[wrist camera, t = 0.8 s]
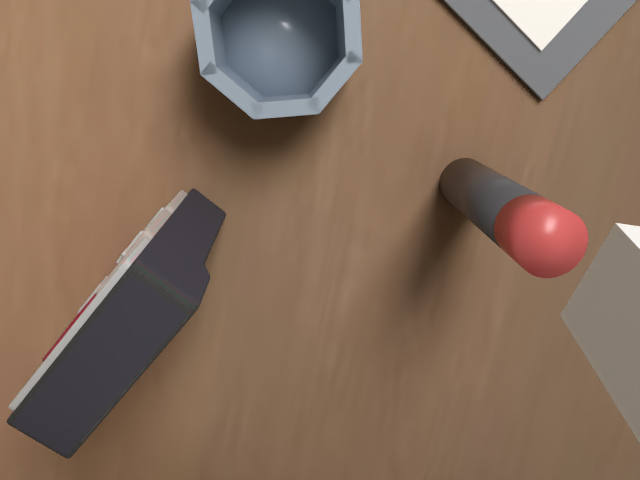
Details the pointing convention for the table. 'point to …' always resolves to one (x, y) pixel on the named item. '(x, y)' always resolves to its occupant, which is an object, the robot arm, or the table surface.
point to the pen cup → (278, 52)
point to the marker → (516, 218)
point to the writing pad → (540, 33)
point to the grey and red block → (121, 326)
